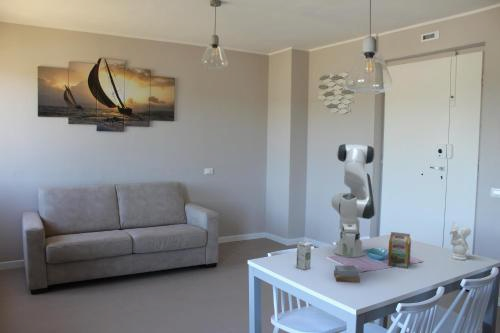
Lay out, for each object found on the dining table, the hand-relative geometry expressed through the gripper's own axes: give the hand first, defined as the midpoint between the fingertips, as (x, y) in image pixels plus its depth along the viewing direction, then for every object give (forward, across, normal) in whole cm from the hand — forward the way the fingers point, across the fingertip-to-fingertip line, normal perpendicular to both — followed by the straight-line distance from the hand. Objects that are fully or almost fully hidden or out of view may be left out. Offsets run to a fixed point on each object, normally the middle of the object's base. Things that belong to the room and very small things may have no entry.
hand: (347, 251), depth 233 cm
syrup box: (+14, -15, -22) cm, 30 cm away
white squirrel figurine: (+14, -46, +73) cm, 87 cm away
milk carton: (+14, -28, +34) cm, 46 cm away
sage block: (+2, 0, 0) cm, 2 cm away
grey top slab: (+12, 0, 0) cm, 12 cm away
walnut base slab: (+15, 0, 0) cm, 15 cm away
